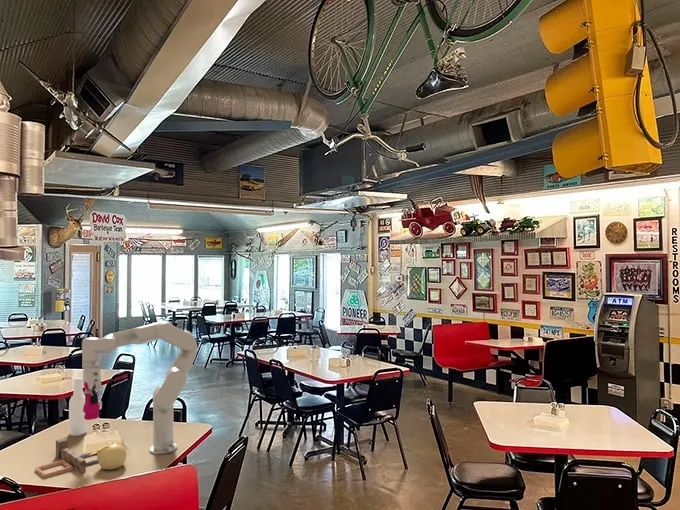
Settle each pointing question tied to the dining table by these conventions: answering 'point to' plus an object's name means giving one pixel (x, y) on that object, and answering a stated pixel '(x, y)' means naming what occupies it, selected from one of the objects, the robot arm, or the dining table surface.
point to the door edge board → (69, 455)
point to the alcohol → (77, 410)
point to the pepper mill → (90, 406)
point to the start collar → (89, 461)
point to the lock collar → (40, 472)
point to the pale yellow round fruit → (111, 456)
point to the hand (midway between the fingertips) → (91, 402)
